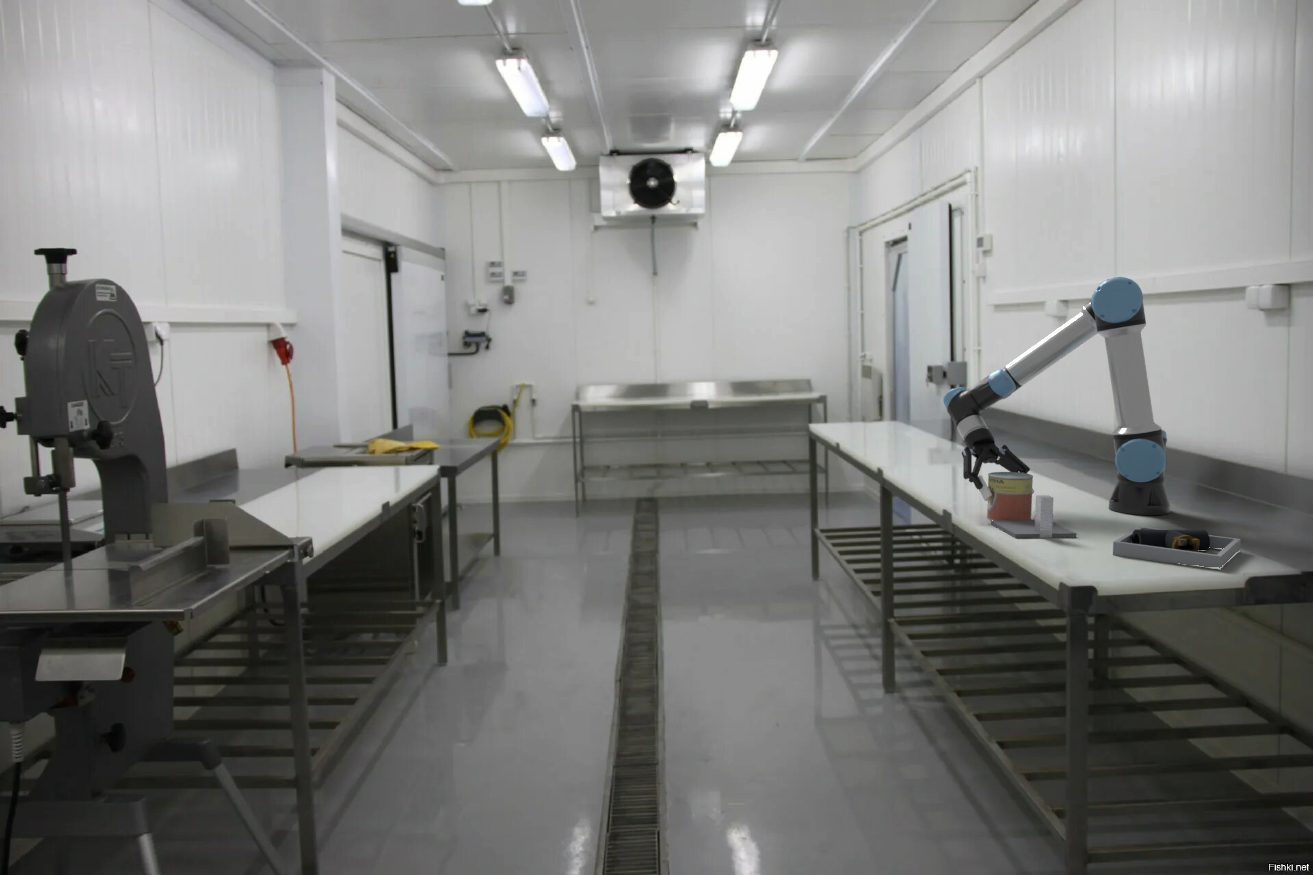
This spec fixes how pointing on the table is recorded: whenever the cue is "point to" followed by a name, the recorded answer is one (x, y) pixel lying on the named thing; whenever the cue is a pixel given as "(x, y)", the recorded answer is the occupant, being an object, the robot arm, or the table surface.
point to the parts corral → (1178, 551)
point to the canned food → (1009, 496)
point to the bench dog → (1044, 515)
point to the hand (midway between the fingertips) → (1009, 496)
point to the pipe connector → (1173, 539)
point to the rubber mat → (1029, 529)
